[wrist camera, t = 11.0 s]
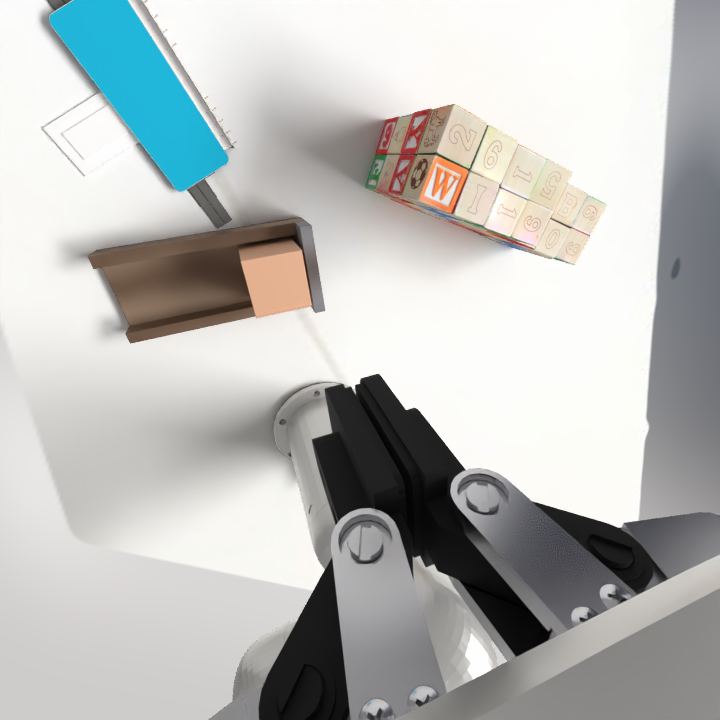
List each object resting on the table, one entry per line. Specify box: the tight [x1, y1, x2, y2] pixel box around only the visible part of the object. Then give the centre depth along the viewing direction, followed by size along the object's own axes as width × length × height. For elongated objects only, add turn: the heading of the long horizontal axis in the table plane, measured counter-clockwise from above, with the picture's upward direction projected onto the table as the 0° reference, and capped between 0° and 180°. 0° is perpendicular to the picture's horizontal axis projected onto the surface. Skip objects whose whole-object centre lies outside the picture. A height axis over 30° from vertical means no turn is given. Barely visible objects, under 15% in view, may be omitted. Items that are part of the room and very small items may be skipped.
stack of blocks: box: [366, 104, 607, 265], centre depth 34 cm, size 21×6×12 cm, turn 70°
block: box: [238, 237, 312, 318], centre depth 33 cm, size 5×5×6 cm
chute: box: [88, 217, 325, 343], centre depth 33 cm, size 8×18×5 cm, turn 96°
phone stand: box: [43, 0, 237, 228], centre depth 27 cm, size 20×12×2 cm, turn 28°
